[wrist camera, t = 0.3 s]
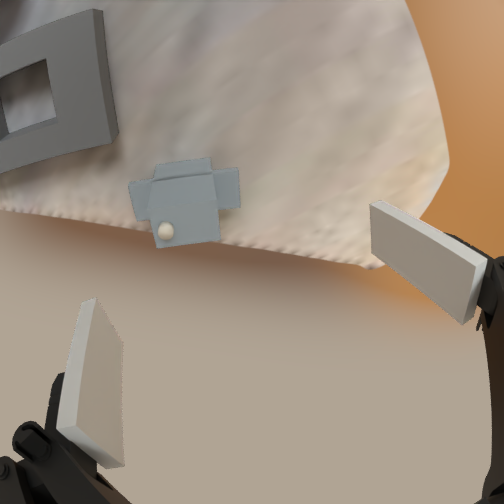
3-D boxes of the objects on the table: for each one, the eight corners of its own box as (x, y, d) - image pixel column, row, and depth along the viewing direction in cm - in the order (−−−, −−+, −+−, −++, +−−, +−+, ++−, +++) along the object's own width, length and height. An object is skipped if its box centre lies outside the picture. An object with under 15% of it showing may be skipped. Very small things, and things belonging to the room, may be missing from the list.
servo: (233, 154, 39) (248, 201, 30) (235, 188, 43) (250, 242, 33) (134, 168, 38) (117, 219, 29) (141, 201, 41) (129, 258, 32)
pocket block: (102, 10, 24) (90, 8, 20) (118, 132, 34) (110, 144, 31) (-37, 70, 21) (-57, 78, 18) (-13, 169, 32) (-28, 185, 28)
